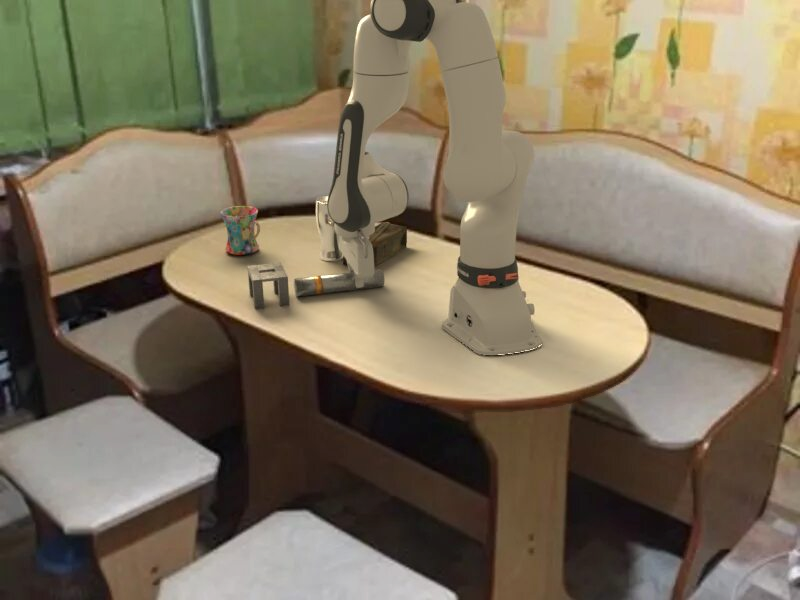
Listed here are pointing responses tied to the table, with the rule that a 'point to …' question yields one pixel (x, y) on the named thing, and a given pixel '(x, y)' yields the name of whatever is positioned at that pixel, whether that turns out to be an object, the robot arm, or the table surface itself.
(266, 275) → the gray four-legged stand
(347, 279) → the tube
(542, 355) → the table surface
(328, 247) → the beer glass
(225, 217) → the mug
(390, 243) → the dark wooden box
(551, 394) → the table surface
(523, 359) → the table surface
